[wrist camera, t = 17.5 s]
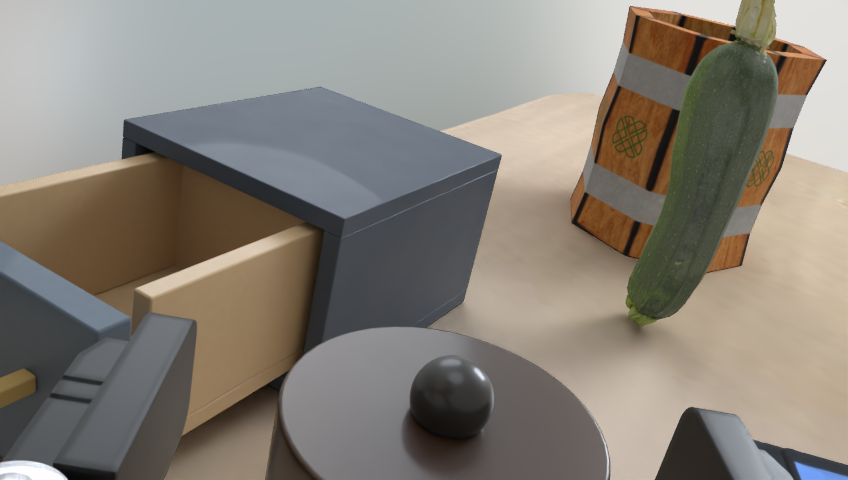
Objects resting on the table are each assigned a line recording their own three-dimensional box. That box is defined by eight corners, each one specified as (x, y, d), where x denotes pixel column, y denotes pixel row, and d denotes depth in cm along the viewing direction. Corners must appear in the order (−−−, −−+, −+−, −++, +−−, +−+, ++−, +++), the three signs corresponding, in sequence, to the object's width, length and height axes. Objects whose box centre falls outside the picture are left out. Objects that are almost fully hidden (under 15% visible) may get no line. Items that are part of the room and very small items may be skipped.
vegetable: (696, 339, 46) (843, -21, 37) (659, 360, 42) (810, -28, 34) (631, 302, 48) (755, -42, 40) (591, 319, 45) (716, -51, 37)
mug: (722, 294, 52) (815, 68, 46) (536, 218, 58) (598, 8, 51) (769, 222, 68) (842, 48, 62) (621, 168, 74) (675, 3, 68)
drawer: (-51, 613, 21) (-61, 399, 18) (-256, 426, 25) (-290, 228, 22) (335, 363, 34) (362, 219, 32) (162, 269, 39) (173, 135, 36)
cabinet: (309, 409, 33) (344, 218, 29) (113, 295, 37) (123, 119, 34) (464, 301, 44) (502, 154, 40) (298, 224, 48) (320, 86, 45)
